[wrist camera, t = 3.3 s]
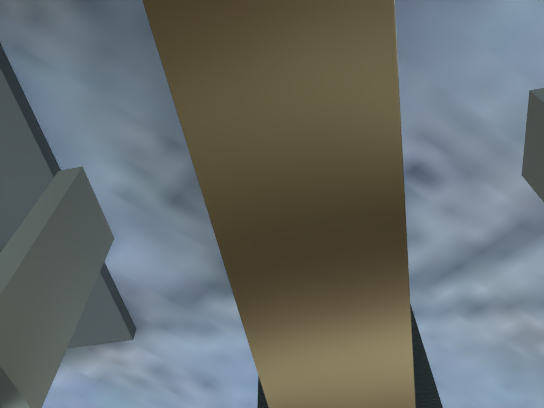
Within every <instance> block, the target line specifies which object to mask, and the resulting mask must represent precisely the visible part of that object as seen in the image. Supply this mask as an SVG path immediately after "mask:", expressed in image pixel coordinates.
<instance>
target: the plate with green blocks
mask: <svg viewBox="0 0 544 408" xmlns="http://www.w3.org/2000/svg"><path fill="white" fill-rule="evenodd" d="M58 171H60V168H59V166H58V164H57V162H56V160H55V158H54V156H53V154H52V152H51V150H50V147H49V145H48V143H47V141H46V139H45V137H44V135H43V133H42V131H41V129H40V126H39V124H38V122H37V120H36V118H35V116H34V114H33V112H32V110H31V108H30V105H29V103H28V101H27V99H26V97H25V95H24V93H23V91H22V89H21V87H20V84H19V82H18V80H17V78H16V76H15V74H14V72H13V70H12V68H11V66H10V63H9V61H8V59H7V57H6V55H5V53H4V51H3V49H2V47H1V45H0V253H1V251H2V250H3V248H4V247H5V246H6V244H7V243H8V241H9V240H10V239H11V237H12V236H13V234H14V233H15V232H16V230H17V229H18V227H19V226H20V224H21V223H22V222H23V220H24V219H25V217H26V216H27V215H28V213H29V212H30V210H31V209H32V208H33V206H34V205H35V203H36V202H37V201H38V199H39V198H40V196H41V195H42V194H43V192H44V191H45V189H46V188H47V187H48V185H49V184H50V182H51V181H52V180H53V178H54V177H55V175H56V174H57V173H58ZM135 332H136V328H135V326H134V324H133V322H132V320H131V318H130V315H129V313H128V311H127V309H126V307H125V305H124V303H123V301H122V299H121V297H120V294H119V292H118V290H117V288H116V286H115V284H114V282H113V280H112V278H111V276H110V273H109V271H108V269H107V267H106V265H105V263H103V266H102V268H101V270H100V273H99V275H98V277H97V280H96V282H95V284H94V287H93V289H92V291H91V294H90V296H89V298H88V301H87V303H86V305H85V308H84V310H83V312H82V315H81V317H80V319H79V321H78V324H77V326H76V328H75V331H74V333H73V335H72V338H71V340H70V342H69V345H68V347H67V348H73V347H81V346H89V345H96V344H104V343H112V342H120V341H127V340H133V338H134V335H135Z"/></svg>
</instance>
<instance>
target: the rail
mask: <svg viewBox="0 0 544 408" xmlns="http://www.w3.org/2000/svg"><path fill="white" fill-rule="evenodd" d="M143 4H144V7H145V10H146V13H147V16H148V20H149V23H150V26H151V29H152V33H153V36H154V39H155V42H156V46H157V49H158V52H159V55H160V58H161V62H162V65H163V68H164V71H165V75H166V78H167V81H168V84H169V88H170V91H171V94H172V97H173V100H174V104H175V107H176V110H177V113H178V117H179V120H180V123H181V126H182V129H183V133H184V136H185V139H186V142H187V146H188V149H189V152H190V155H191V159H192V162H193V165H194V168H195V171H196V175H197V178H198V181H199V184H200V188H201V191H202V194H203V197H204V201H205V204H206V207H207V210H208V213H209V217H210V220H211V223H212V226H213V230H214V233H215V236H216V239H217V243H218V246H219V249H220V252H221V255H222V259H223V262H224V265H225V268H226V272H227V275H228V278H229V281H230V285H231V288H232V291H233V294H234V297H235V301H236V304H237V307H238V310H239V314H240V317H241V320H242V323H243V327H244V330H245V333H246V336H247V339H248V343H249V346H250V349H251V352H252V356H253V359H254V362H255V365H256V369H257V372H258V375H259V378H260V381H261V385H262V388H263V391H264V394H265V398H266V401H267V404H268V407H269V408H416V406H415V387H414V368H413V349H412V329H411V310H410V291H409V272H408V253H407V234H406V215H405V196H404V177H403V157H402V138H401V119H400V100H399V81H398V62H397V43H396V24H395V4H394V0H143Z"/></svg>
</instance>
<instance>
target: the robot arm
mask: <svg viewBox="0 0 544 408" xmlns="http://www.w3.org/2000/svg"><path fill="white" fill-rule="evenodd" d="M522 176H523V177H524V179H525V180H526V181H527V182H528V184H529V185H530V186H531V187H532V188H533V190H534V191H535V192H536V193H537V194H538V196H539V197H540V198H541V199H542V201H543V202H544V88H541V89H535V90H530V91H529V102H528V113H527V123H526V134H525V145H524V156H523V167H522ZM113 240H114V236H113V234H112V232H111V230H110V227H109V225H108V223H107V221H106V218H105V216H104V214H103V212H102V209H101V207H100V205H99V203H98V200H97V198H96V196H95V194H94V191H93V189H92V187H91V185H90V182H89V180H88V178H87V176H86V173H85V171H84V169H83V167H78V168H72V169H66V170H60V171H58V173H57V174H56V175H55V177H54V178H53V180H52V181H51V182H50V184H49V185H48V187H47V188H46V189H45V191H44V192H43V194H42V195H41V196H40V198H39V199H38V201H37V202H36V203H35V205H34V206H33V208H32V209H31V210H30V212H29V213H28V215H27V216H26V217H25V219H24V220H23V222H22V223H21V224H20V226H19V227H18V229H17V230H16V232H15V233H14V234H13V236H12V237H11V239H10V240H9V241H8V243H7V244H6V246H5V247H4V248H3V250H2V251H1V253H0V408H42V405H43V403H44V401H45V398H46V396H47V394H48V391H49V389H50V387H51V384H52V382H53V380H54V377H55V375H56V373H57V370H58V368H59V366H60V363H61V361H62V359H63V356H64V354H65V352H66V349H67V347H68V345H69V342H70V340H71V338H72V335H73V333H74V331H75V328H76V326H77V324H78V321H79V319H80V317H81V315H82V312H83V310H84V308H85V305H86V303H87V301H88V298H89V296H90V294H91V291H92V289H93V287H94V284H95V282H96V280H97V277H98V275H99V273H100V270H101V268H102V266H103V263H104V261H105V259H106V256H107V254H108V252H109V249H110V247H111V245H112V242H113Z"/></svg>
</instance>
